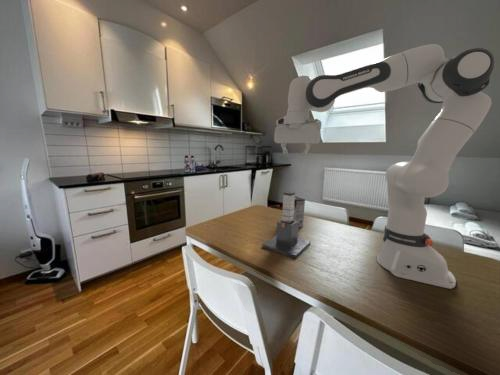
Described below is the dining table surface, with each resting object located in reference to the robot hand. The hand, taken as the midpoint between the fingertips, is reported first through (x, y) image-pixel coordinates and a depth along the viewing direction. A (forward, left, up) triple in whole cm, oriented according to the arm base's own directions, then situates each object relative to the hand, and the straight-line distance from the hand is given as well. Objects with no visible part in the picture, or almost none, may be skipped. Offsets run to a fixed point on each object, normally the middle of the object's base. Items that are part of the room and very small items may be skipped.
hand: (294, 154), depth 86 cm
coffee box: (+10, -25, -41) cm, 49 cm away
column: (+1, +2, -39) cm, 39 cm away
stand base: (+1, +2, -41) cm, 41 cm away
